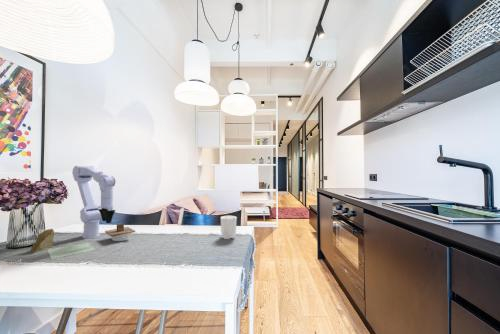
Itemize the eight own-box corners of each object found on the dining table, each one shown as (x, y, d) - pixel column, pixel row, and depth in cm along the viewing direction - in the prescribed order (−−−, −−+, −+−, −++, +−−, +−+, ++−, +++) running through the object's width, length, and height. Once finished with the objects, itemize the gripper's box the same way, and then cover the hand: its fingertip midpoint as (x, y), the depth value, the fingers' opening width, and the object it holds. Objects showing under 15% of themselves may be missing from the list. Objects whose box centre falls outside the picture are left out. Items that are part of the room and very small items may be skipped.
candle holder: (217, 238, 125) (217, 218, 126) (224, 234, 135) (224, 215, 135) (233, 240, 123) (233, 219, 123) (238, 235, 132) (239, 216, 132)
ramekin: (108, 242, 118) (108, 234, 118) (114, 238, 126) (114, 230, 126) (126, 241, 120) (126, 233, 120) (131, 236, 129) (131, 229, 129)
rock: (33, 250, 99) (59, 241, 108) (26, 235, 100) (52, 227, 109) (27, 260, 103) (53, 251, 112) (20, 245, 105) (46, 237, 114)
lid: (104, 232, 123) (105, 223, 123) (127, 228, 132) (127, 220, 132) (111, 236, 115) (111, 227, 115) (135, 232, 124) (135, 223, 124)
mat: (47, 250, 105) (47, 249, 105) (87, 242, 117) (87, 242, 117) (51, 259, 94) (51, 259, 94) (94, 250, 106) (94, 249, 106)
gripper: (95, 197, 124) (95, 221, 123) (102, 199, 114) (101, 225, 114) (109, 196, 129) (109, 219, 129) (117, 198, 119) (116, 222, 119)
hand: (106, 221), depth 121 cm, fingers open, 7 cm apart
